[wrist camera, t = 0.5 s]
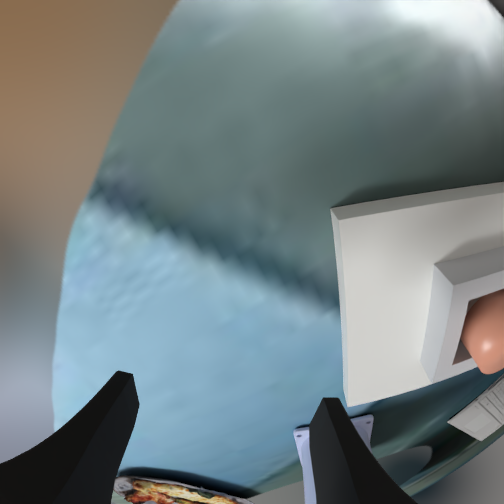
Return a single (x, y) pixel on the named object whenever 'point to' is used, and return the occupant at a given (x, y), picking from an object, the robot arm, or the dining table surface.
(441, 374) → the button panel
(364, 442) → the robot arm
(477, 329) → the button
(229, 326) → the dining table surface
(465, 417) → the laptop
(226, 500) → the food plate
